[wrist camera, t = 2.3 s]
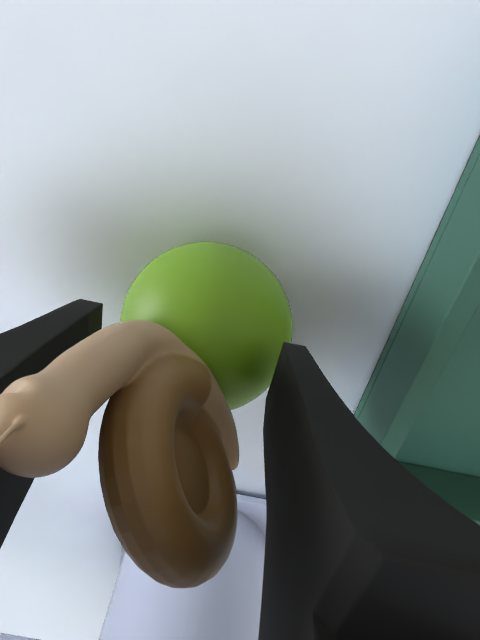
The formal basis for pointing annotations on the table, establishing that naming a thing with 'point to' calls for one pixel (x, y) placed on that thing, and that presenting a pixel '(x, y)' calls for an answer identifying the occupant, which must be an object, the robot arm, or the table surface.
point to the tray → (437, 361)
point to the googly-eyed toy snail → (161, 405)
